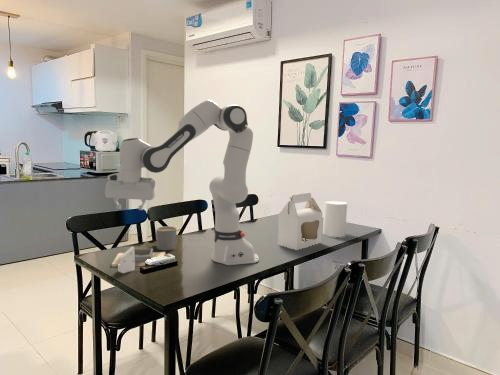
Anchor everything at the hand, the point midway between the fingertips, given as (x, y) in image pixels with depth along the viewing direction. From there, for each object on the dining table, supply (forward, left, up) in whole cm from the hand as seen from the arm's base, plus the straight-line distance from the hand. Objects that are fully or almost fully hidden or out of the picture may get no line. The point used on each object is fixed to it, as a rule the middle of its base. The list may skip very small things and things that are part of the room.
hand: (129, 209), depth 159 cm
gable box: (-85, -32, -27) cm, 95 cm away
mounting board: (-3, -11, -26) cm, 29 cm away
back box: (-3, -11, -25) cm, 27 cm away
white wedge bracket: (+1, +2, -27) cm, 27 cm away
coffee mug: (-13, -32, -26) cm, 43 cm away
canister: (-113, -51, -26) cm, 126 cm away
